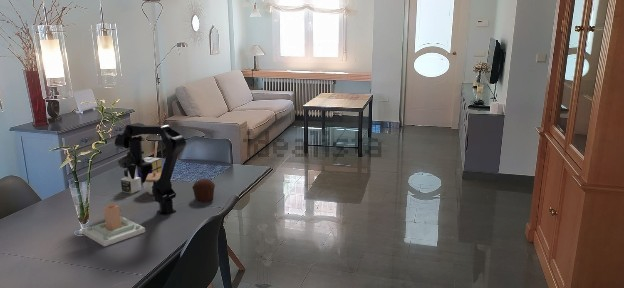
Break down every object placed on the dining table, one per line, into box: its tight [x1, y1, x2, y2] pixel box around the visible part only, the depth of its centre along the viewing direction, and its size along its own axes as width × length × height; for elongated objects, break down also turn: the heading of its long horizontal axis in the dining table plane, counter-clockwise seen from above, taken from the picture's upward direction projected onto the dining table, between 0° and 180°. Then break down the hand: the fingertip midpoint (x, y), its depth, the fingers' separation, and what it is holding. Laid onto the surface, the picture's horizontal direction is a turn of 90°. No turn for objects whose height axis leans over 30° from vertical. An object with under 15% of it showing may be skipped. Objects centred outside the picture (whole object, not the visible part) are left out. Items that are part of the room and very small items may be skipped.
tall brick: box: [103, 202, 122, 231], centre depth 198 cm, size 4×4×11 cm
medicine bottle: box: [120, 168, 142, 194], centre depth 250 cm, size 7×7×12 cm
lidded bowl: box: [142, 172, 161, 195], centre depth 248 cm, size 13×13×11 cm
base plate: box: [82, 216, 146, 247], centre depth 199 cm, size 18×18×4 cm
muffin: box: [192, 178, 216, 203], centre depth 240 cm, size 12×11×10 cm
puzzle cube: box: [137, 156, 163, 178], centre depth 276 cm, size 10×10×10 cm
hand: (138, 180), depth 227 cm, fingers open, 9 cm apart
